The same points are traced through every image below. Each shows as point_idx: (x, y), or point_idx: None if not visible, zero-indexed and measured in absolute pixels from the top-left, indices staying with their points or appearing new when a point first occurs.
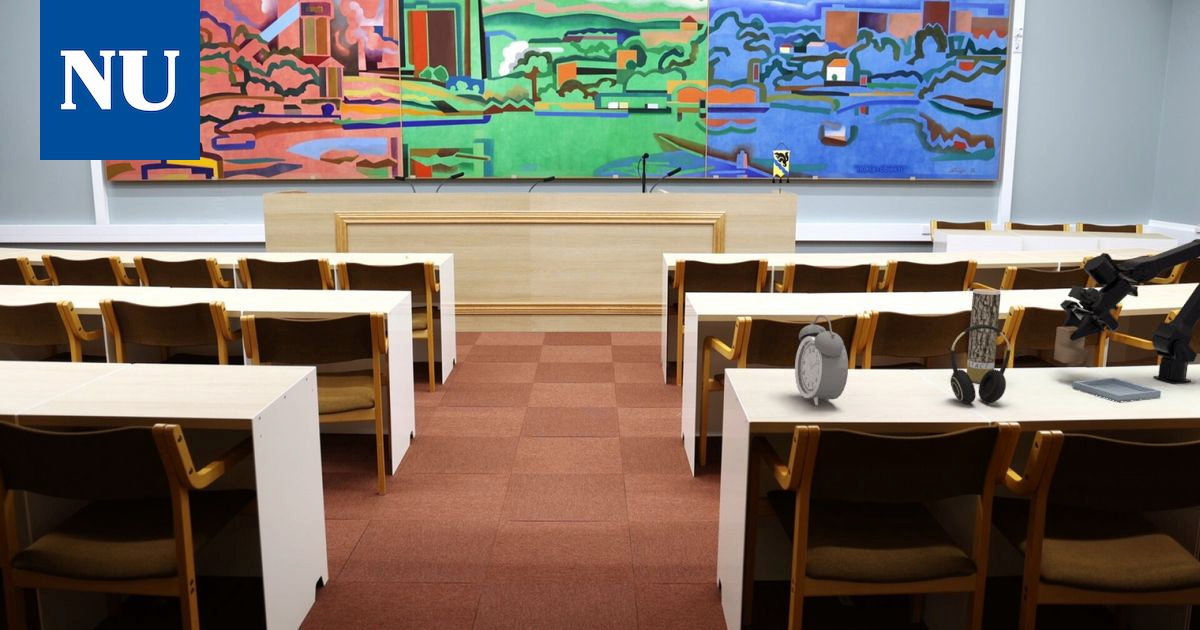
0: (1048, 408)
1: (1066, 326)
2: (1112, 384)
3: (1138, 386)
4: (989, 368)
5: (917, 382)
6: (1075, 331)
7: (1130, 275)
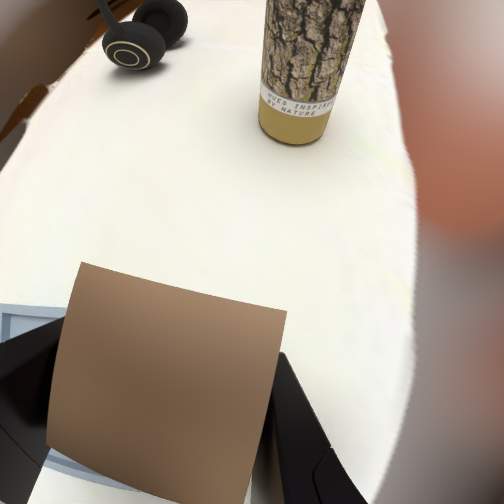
0: (61, 132)
1: (268, 438)
2: None
3: (50, 460)
4: (260, 90)
5: None
6: (55, 334)
7: None
